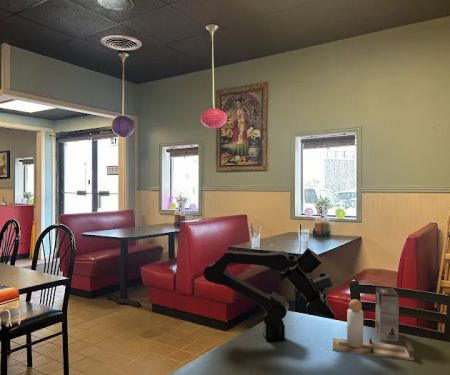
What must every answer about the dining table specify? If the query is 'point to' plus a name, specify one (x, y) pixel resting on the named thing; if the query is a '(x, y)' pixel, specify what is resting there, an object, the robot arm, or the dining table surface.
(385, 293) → the coffee box
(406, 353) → the level stand
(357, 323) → the post
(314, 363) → the dining table surface
